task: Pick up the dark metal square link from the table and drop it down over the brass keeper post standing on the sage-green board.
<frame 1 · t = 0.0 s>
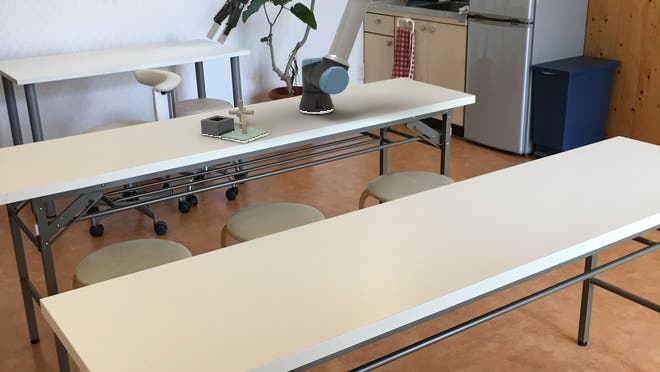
hand: (213, 40, 264), 36 cm above the table, tool tilted 35°, fingers open, 13 cm apart
pipe connector: (242, 124, 288), on the table
keeper board: (245, 137, 270), on the table
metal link: (218, 134, 275), on the table
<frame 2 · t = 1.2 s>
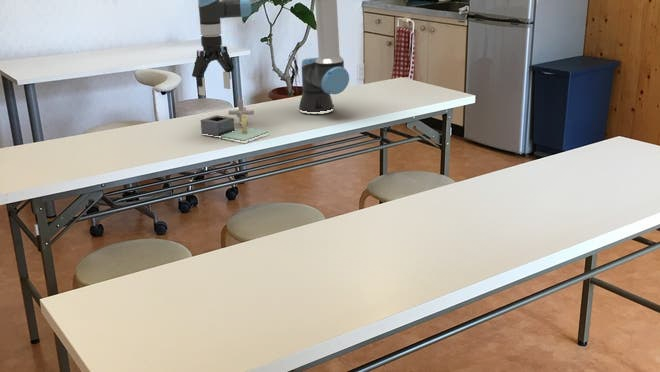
hand: (215, 91, 269), 17 cm above the table, tool pointing down, fingers open, 13 cm apart
nothing on the table moved.
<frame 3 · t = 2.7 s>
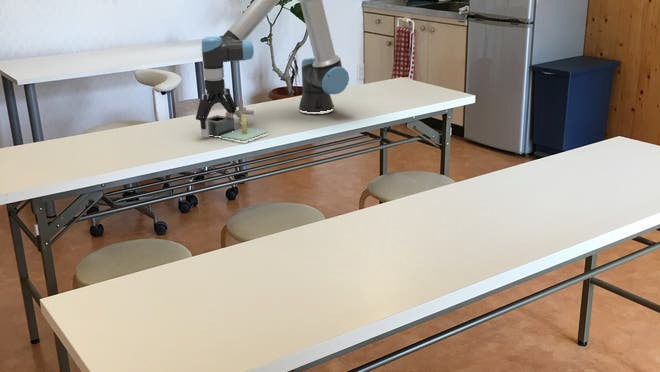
hand: (218, 133, 275), 0 cm above the table, tool pointing down, fingers open, 13 cm apart
nothing on the table moved.
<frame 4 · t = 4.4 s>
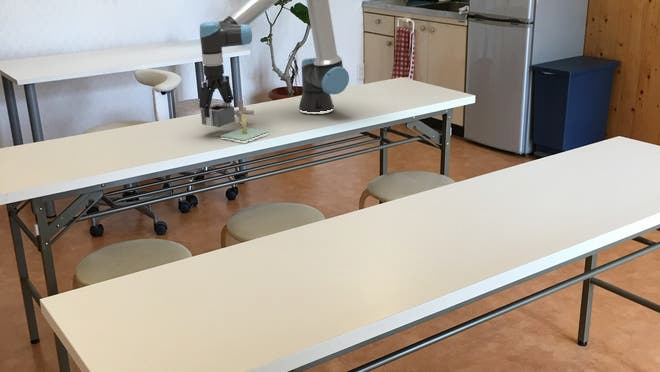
hand: (218, 122, 274), 5 cm above the table, tool pointing down, fingers closed on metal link, 9 cm apart
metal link: (218, 122, 274), point 4 cm above the table, touching gripper
everything else where it was.
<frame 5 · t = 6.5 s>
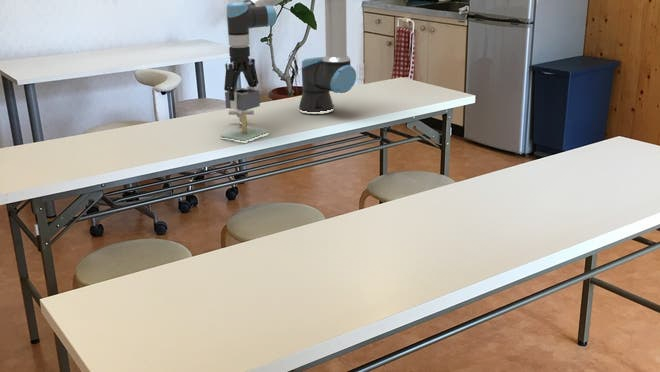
hand: (242, 106, 266), 12 cm above the table, tool pointing down, fingers closed on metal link, 9 cm apart
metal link: (243, 106, 266), point 12 cm above the table, touching gripper
everything else where it was.
when the fingers open (2 cm above the table, at t = 9.0 s): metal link stays where it is, resting on keeper board.
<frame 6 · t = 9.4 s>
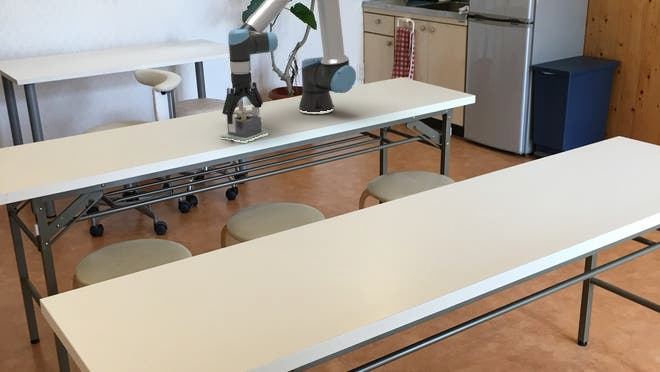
hand: (244, 127, 269), 4 cm above the table, tool pointing down, fingers open, 13 cm apart
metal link: (245, 133, 269), point 1 cm above the table, touching keeper board
everything else where it was.
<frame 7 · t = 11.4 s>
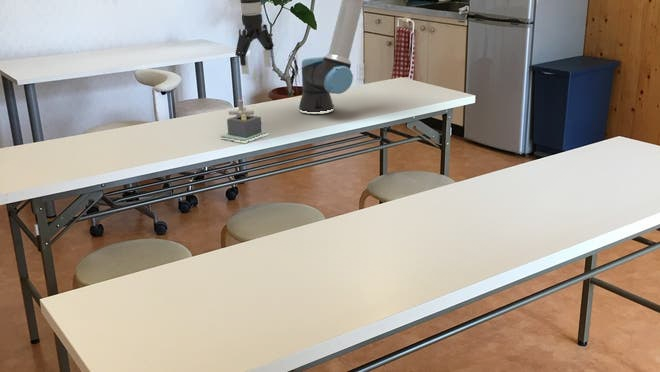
hand: (256, 70, 271), 24 cm above the table, tool pointing down, fingers open, 13 cm apart
nothing on the table moved.
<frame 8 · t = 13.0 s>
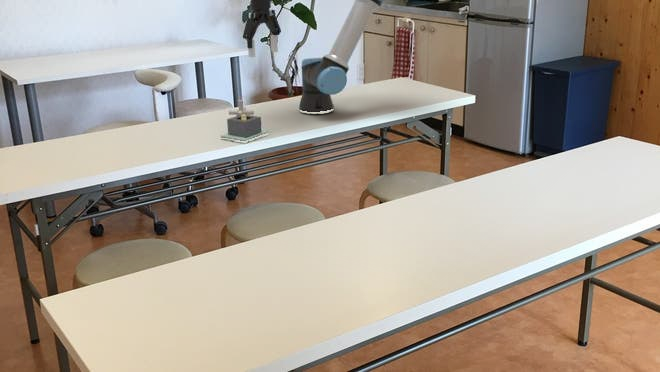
hand: (263, 54, 276), 29 cm above the table, tool pointing down, fingers open, 13 cm apart
nothing on the table moved.
at the end: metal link 0.1 cm off-centre on the keeper board, point 1.5 cm above the keeper board's base; the gripper is holding nothing; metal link tilted 0° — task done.
